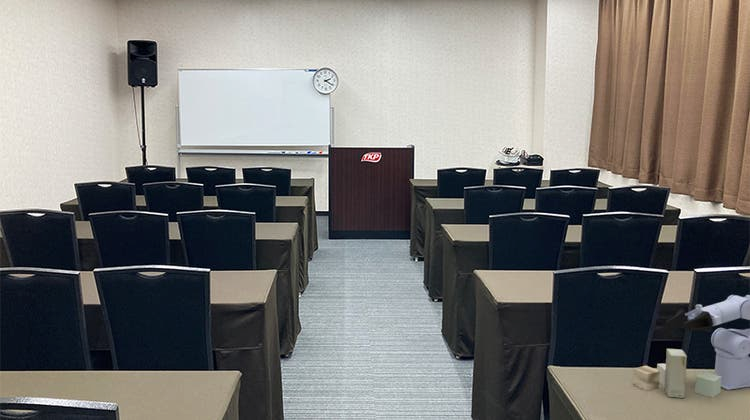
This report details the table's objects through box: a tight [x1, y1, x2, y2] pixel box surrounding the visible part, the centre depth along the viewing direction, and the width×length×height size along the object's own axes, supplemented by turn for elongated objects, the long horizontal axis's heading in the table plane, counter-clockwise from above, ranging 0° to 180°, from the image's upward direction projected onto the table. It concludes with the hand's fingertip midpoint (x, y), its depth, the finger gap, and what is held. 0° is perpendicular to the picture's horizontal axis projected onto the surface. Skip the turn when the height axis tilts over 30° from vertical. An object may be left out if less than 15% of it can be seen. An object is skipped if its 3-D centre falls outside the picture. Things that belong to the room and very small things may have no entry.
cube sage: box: [694, 371, 722, 399], centre depth 203 cm, size 5×5×5 cm
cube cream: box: [656, 363, 666, 387], centre depth 210 cm, size 5×5×5 cm
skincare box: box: [663, 348, 688, 399], centre depth 202 cm, size 6×4×12 cm
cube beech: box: [632, 365, 660, 391], centre depth 208 cm, size 5×5×5 cm
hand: (675, 326), depth 201 cm, fingers open, 7 cm apart
